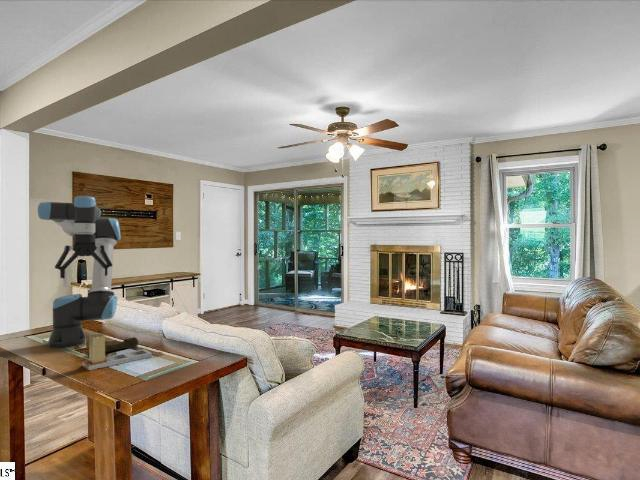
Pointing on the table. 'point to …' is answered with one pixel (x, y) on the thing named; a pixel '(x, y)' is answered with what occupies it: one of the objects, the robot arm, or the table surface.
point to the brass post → (96, 349)
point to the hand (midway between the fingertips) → (84, 285)
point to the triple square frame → (118, 359)
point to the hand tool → (122, 344)
